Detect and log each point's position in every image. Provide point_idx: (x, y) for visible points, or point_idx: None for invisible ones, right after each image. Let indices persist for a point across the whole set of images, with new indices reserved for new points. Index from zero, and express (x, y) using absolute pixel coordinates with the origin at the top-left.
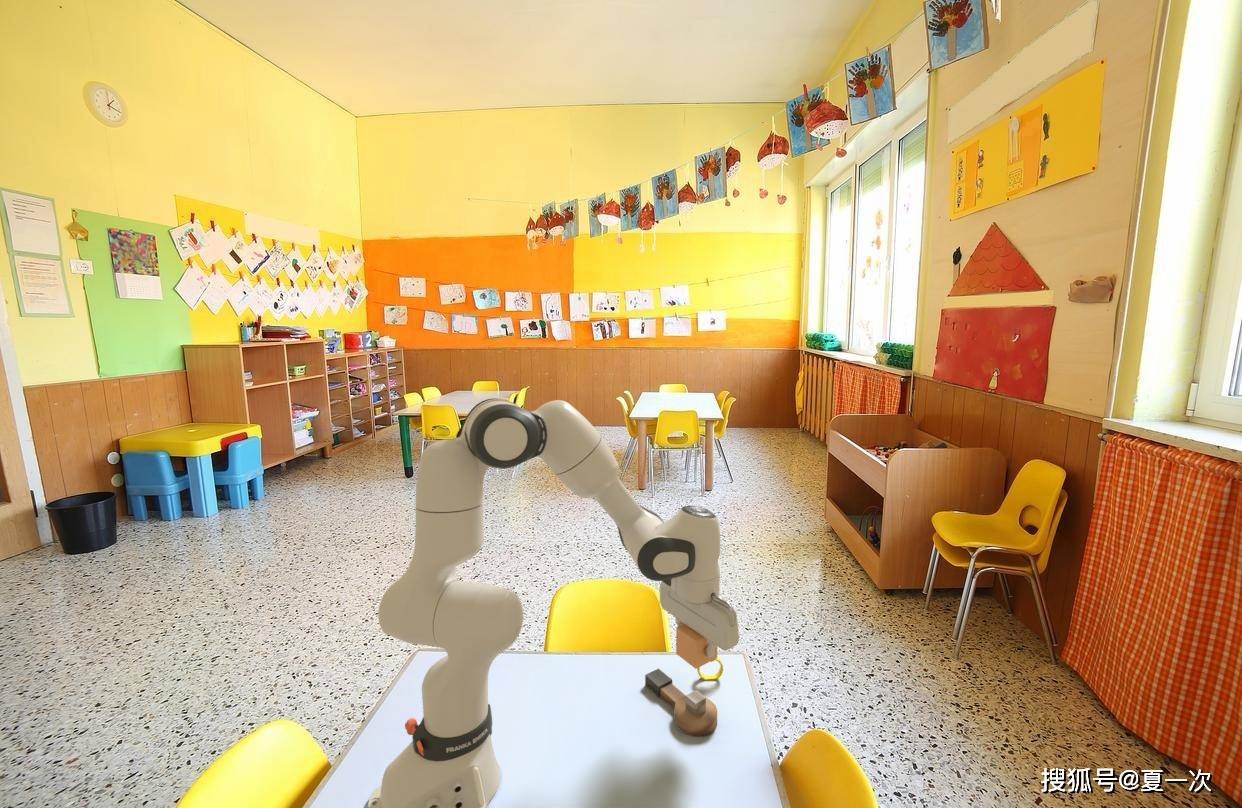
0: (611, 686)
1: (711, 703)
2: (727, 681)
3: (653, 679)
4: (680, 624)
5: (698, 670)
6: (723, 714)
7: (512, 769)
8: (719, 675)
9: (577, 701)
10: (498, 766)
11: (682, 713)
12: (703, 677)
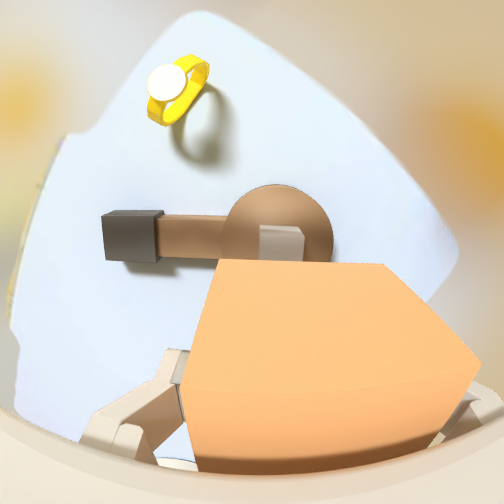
0: (94, 306)
1: (289, 193)
2: (225, 68)
3: (127, 255)
4: (152, 442)
5: (165, 125)
6: (305, 167)
7: (190, 454)
8: (205, 77)
9: (109, 366)
10: (185, 465)
11: None
12: (179, 115)
